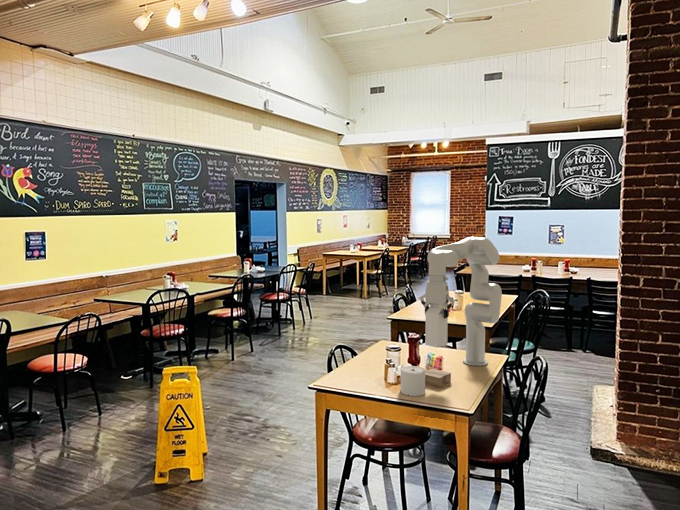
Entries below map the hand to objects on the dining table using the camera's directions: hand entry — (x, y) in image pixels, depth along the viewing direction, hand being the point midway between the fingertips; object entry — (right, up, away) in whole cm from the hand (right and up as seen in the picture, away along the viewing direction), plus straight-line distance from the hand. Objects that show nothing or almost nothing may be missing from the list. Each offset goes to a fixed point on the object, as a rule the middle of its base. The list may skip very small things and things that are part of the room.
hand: (436, 316), depth 226 cm
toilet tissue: (-13, -32, -9) cm, 36 cm away
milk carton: (0, -13, +1) cm, 13 cm away
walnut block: (0, -31, +2) cm, 31 cm away
